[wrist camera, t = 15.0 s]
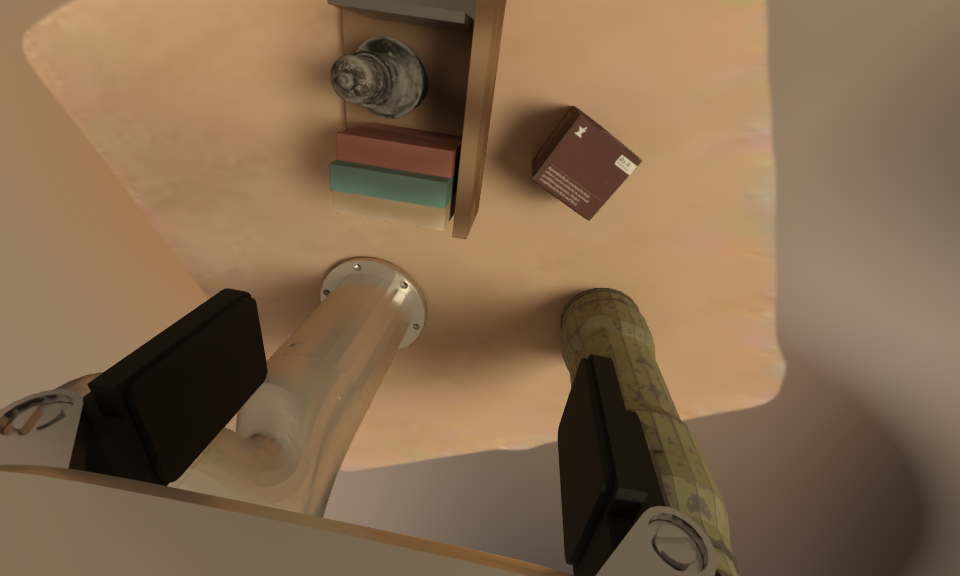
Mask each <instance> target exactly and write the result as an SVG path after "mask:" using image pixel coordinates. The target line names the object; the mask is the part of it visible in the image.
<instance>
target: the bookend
mask: <svg viewBox="0 0 960 576" xmlns="http://www.w3.org/2000/svg"><path fill="white" fill-rule="evenodd" d="M476 1H477V0H327V3H328V4H330V5H333V6H336V7H339V8H342V9H345V10H348V11H351V12H354V13H357V14H360V15H363V16H366V17H369V18H373V19H379V20H386V21H393V22H400V23H407V24H413V25H420V26H427V27H434V28H441V29H448V30H454V31H461V32H468V33H473V30H474V20H475V11H476Z"/></svg>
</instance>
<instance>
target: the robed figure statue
mask: <svg viewBox="0 0 960 576" xmlns="http://www.w3.org/2000/svg"><path fill="white" fill-rule="evenodd" d="M561 346H562V356H563V359H564V362H565V364H566V367H567V369H568V370H569V372H570V379H571V388H572V385H573V382H574V379H575V376H576V372H577V369H578V366H579V363H580V361H581V359H582V358H587V359H588V356H589V355H590V354H594V355H600V356H605V357H611V358H612V360H613V363H614V367H615V371H616V374H617V378H618V382H619V385H620V389H621V393H622V397H623V400H624V404H625V408H626V410H631V411H635V412H636V413H637V414H638V416H639V419H640V422H641V425H642V429H643V432H644V435H645V439H646V442H647V445H648V449H649V452H650V455H651V459H652V462H653V465H654V469H655V472H656V475H657V479H658V482H659V485H660V489H661V492H662V495H663V498H664V502H665V505H666V507H670V508H673V509H675V510H678V511H680V512H682V513H684V514H685V515H687V516H688V517H690V518H691V519H692V520H693V521H695V522H696V523H697V524H698V525H699V526H700V527H701V528H702V529H703V531H704V532H705V533H706V535H707V536H708V538H709V539H710V541H711V543H712V545H713V547H714V549H715V552H716V557H717V569H716V571H718V572H719V573H720V574H721V575H722V576H738V573H739V570H738V566H737V561H736V558H735V556H734V553H733V551H732V548H731V546H730V536H729V522H728V516H727V511H726V507H725V503H724V501H723V499H722V496H721V494H720V492H719V489H718V487H717V485H716V483H715V480H714V478H713V476H712V474H711V471H710V469H709V467H708V465H707V462H706V460H705V458H704V455H703V453H702V451H701V448H700V446H699V444H698V442H697V440H696V437H695V436H694V434H693V433H692V432H691V431H690V430H689V428H688V427H687V426H686V425H685V424H684V423H683V422H682V421H681V420H680V417H679V415H678V412H677V410H676V408H675V405H674V403H673V400H672V398H671V396H670V393H669V391H668V389H667V386H666V384H665V381H664V379H663V377H662V374H661V372H660V369H659V367H658V365H657V362H656V360H655V346H654V342H653V338H652V335H651V333H650V330H649V328H648V326H647V324H646V321H645V319H644V318H643V316H642V315H641V314H640V312H639V309H638V307H637V305H636V304H635V303H634V302H633V300H632V299H631V298H630V297H629V296H627V295H625V294H624V293H622V292H621V291H617V290H613V289H609V288H595V289H592V290H588V291H585V292H582V293H581V294H579V295H577V296H576V297H574V298H573V299H572V300H571V301H570V302H569V303H568V304H567V306H566V307H565V309H564V311H563V314H562V316H561Z"/></svg>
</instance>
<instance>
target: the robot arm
mask: <svg viewBox="0 0 960 576" xmlns="http://www.w3.org/2000/svg"><path fill="white" fill-rule="evenodd" d="M405 282H406V283H405ZM320 302H321V304H320V305H319V306H318V307H317V308H316V309H315V310H314V311H313V312H312V313H311V314H310V315H309V316H308V317H307V319H306V320H305V321H304V322H303V323H302V324H301V325H300V326H299V327H298V328H297V329H296V330H295V331H294V332H293V334H292V335H291V336H290V337H289V338H288V339H287V340H286V341H285V342H284V343H283V344H282V345H281V346H280V348H279V349H278V350H277V351H276V352H275V353H274V354H273V355H272V356H271V357H270V358H269V359H268V360H267V361H266V357H265V351H264V345H263V340H262V334H261V328H260V322H259V316H258V310H257V304H256V301H255V299H253V298H252V297H251V295H250V294H249V293H248V292H245V291H240V290H234V289H224V290H222V291H220V292H219V293H217V294H216V295H214V296H213V297H212V298H210V299H209V300H207V301H206V302H204V303H203V304H201V305H200V306H199V307H197V308H196V309H194V310H193V311H191V312H190V313H188V314H187V315H186V316H184V317H183V318H181V319H180V320H178V321H177V322H176V323H174V324H173V325H171V326H170V327H168V328H167V329H165V330H164V331H163V332H161V333H160V334H158V335H157V336H155V337H154V338H152V339H151V340H150V341H148V342H147V343H145V344H144V345H142V346H141V347H140V348H138V349H137V350H135V351H134V352H132V353H131V354H129V355H128V356H126V357H125V358H124V359H122V360H121V361H119V362H118V363H116V364H115V365H113V366H112V367H111V368H109V369H108V370H106V371H105V372H103V373H96V374H90V375H86V376H83V377H80V378H77V379H74V380H72V381H69V382H67V383H65V384H63V385H62V386H59V387H58V388H56V389H54V390H50V391H44V392H40V393H37V394H33V395H30V396H28V397H25V398H23V399H20V400H18V401H15V402H13V403H12V404H10V405H8V406H7V407H5V408H3V409H1V410H0V576H573V575H570V574H568V573H565V572H561V571H558V570H554V569H551V568H547V567H544V566H540V565H537V564H533V563H529V562H525V561H520V560H517V559H512V558H507V557H503V556H499V555H494V554H490V553H486V552H481V551H477V550H473V549H469V548H464V547H459V546H455V545H450V544H445V543H441V542H436V541H431V540H426V539H422V538H417V537H412V536H407V535H403V534H398V533H393V532H389V531H384V530H379V529H374V528H370V527H365V526H360V525H355V524H350V523H345V522H341V521H336V520H331V519H326V518H323V516H324V513H325V509H326V506H327V503H328V500H329V497H330V493H331V490H332V487H333V485H334V482H335V479H336V476H337V474H338V472H339V469H340V467H341V464H342V462H343V460H344V457H345V455H346V453H347V451H348V449H349V447H350V445H351V442H352V440H353V438H354V436H355V434H356V432H357V430H358V428H359V426H360V424H361V422H362V420H363V418H364V416H365V414H366V412H367V410H368V408H369V406H370V404H371V402H372V400H373V398H374V396H375V394H376V392H377V390H378V388H379V386H380V384H381V382H382V380H383V378H384V376H385V374H386V372H387V370H388V368H389V366H390V364H391V362H392V360H393V358H394V356H395V354H396V352H397V351H398V350H401V349H403V348H405V347H407V346H409V345H410V344H411V343H413V342H414V341H415V340H416V339H417V337H418V336H419V335H420V333H421V331H422V329H423V327H424V323H425V320H426V305H425V300H424V298H423V295H422V292H421V291H420V289H419V287H418V286H417V284H416V283H415V282H414V281H413V280H412V278H411V277H410V276H409V275H407V274H406V273H405V272H404V271H403V270H401V269H400V268H398V267H396V266H395V265H393V264H391V263H388V262H386V261H383V260H380V259H375V258H363V257H361V258H354V259H350V260H347V261H345V262H342V263H341V264H339V265H338V266H336V267H335V268H334V269H333V270H332V271H331V272H330V273H329V274H328V275H327V277H326V278H325V280H324V282H323V284H322V287H321V292H320ZM237 412H238V413H237ZM236 413H237V420H236V432H234V431H232V430H230V429H229V430H228V429H227V428H225V426H226V424H227V423H228V422H229V421H230V420H231V419H232V418H233V416H235V414H236ZM558 451H559V467H560V482H561V500H562V516H563V533H564V548H565V560H566V563H567V564H571V565H573V573H574V576H722V575H721V574H720V573H719V572H718V571H716V569H717V557H716V552H715V549H714V547H713V545H712V543H711V541H710V539H709V538H708V536H707V535H706V533H705V532H704V531H703V529H702V528H701V527H700V526H699V525H698V524H697V523H696V522H695V521H693V520H692V519H691V518H690V517H688V516H687V515H685V514H684V513H682V512H680V511H678V510H675V509H673V508H670V507H666V505H665V502H664V498H663V495H662V492H661V489H660V485H659V482H658V479H657V475H656V472H655V469H654V465H653V462H652V459H651V455H650V452H649V449H648V445H647V442H646V439H645V435H644V432H643V429H642V425H641V422H640V419H639V416H638V414H637V413H636V412H635V411H631V410H626V408H625V404H624V400H623V397H622V393H621V389H620V385H619V382H618V378H617V374H616V371H615V367H614V363H613V360H612V358H611V357H605V356H600V355H594V354H590V355H589V356H588V359H587V358H582V359H581V361H580V363H579V366H578V369H577V372H576V376H575V379H574V382H573V385H572V388H571V391H570V394H569V397H568V400H567V403H566V406H565V409H564V412H563V415H562V418H561V422H560V425H559V429H558Z"/></svg>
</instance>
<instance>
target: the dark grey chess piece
mask: <svg viewBox="0 0 960 576" xmlns="http://www.w3.org/2000/svg"><path fill="white" fill-rule="evenodd" d="M331 82H332V85H333V88H334V90H335V91H336V93H337V94H338V95H339V96H340V97H341V98H342V99H343V100H345V101H347V102H349V103H352V104H361V105H363V106H364V107H365V108H366V109H367V110H368V111H369V112H371V113H373V114H374V115H376V116H378V117H381V118H385V119H397V118H400V117H403V116H405V115H407V114H408V113H409V112H411V111H412V110H413V109H415V108H416V107H418V106H419V105H420V104H421V103H422V102H423V101H424V99H425V97H426V95H427V93H428V89H429V83H430V82H429V72H428V69H427V66H426V63H425V62H424V60H423V58H422V56H421V55H420V54H419V53H418V52H417V51H416V50H415V49H413V48H411V47H410V46H408V45H406V44H405V43H403V42H401V41H400V40H398V39H397V38H393V37H390V36H375V37H372V38H370V39H367V40H366V41H365V42H364V43H362V44H361V45H360V46H359V48H358V49H357V51H356V52H355V53H354V54H353V55H345V56H342V57H340V58H339V59H338V60H336V61H335V63H334V64H333V66H332V69H331Z"/></svg>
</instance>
